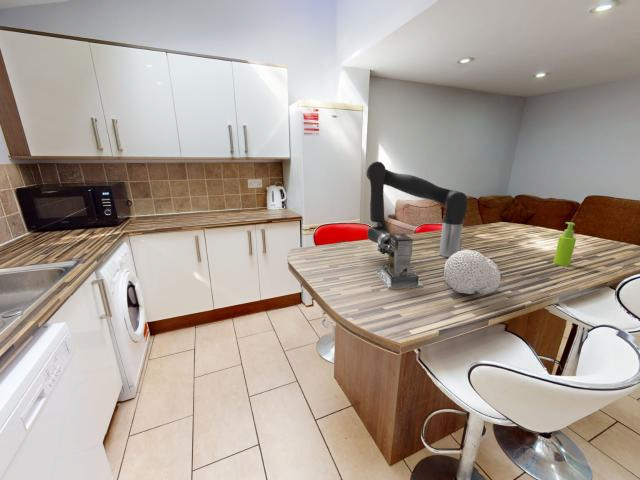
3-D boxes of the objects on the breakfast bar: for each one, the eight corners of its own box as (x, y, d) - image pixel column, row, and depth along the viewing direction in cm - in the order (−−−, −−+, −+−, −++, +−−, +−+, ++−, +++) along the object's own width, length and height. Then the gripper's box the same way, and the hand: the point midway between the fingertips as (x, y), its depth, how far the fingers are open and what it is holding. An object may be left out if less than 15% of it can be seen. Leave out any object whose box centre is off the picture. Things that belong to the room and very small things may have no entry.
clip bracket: (406, 271, 122) (406, 262, 121) (423, 287, 106) (424, 277, 105) (375, 272, 121) (376, 263, 120) (388, 289, 105) (388, 279, 104)
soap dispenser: (565, 262, 132) (576, 221, 126) (571, 266, 126) (582, 224, 120) (550, 260, 134) (560, 220, 129) (555, 265, 128) (565, 223, 123)
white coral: (467, 283, 89) (472, 238, 94) (429, 287, 105) (435, 249, 110) (511, 303, 94) (513, 259, 99) (468, 304, 110) (472, 266, 115)
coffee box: (386, 269, 117) (389, 233, 112) (401, 268, 118) (404, 232, 113) (394, 278, 108) (397, 239, 104) (409, 277, 109) (413, 238, 104)
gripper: (373, 235, 122) (384, 246, 106) (404, 234, 124) (420, 245, 108) (372, 250, 124) (383, 264, 109) (402, 249, 126) (418, 262, 110)
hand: (401, 254), depth 108 cm, fingers closed on coffee box, 6 cm apart
